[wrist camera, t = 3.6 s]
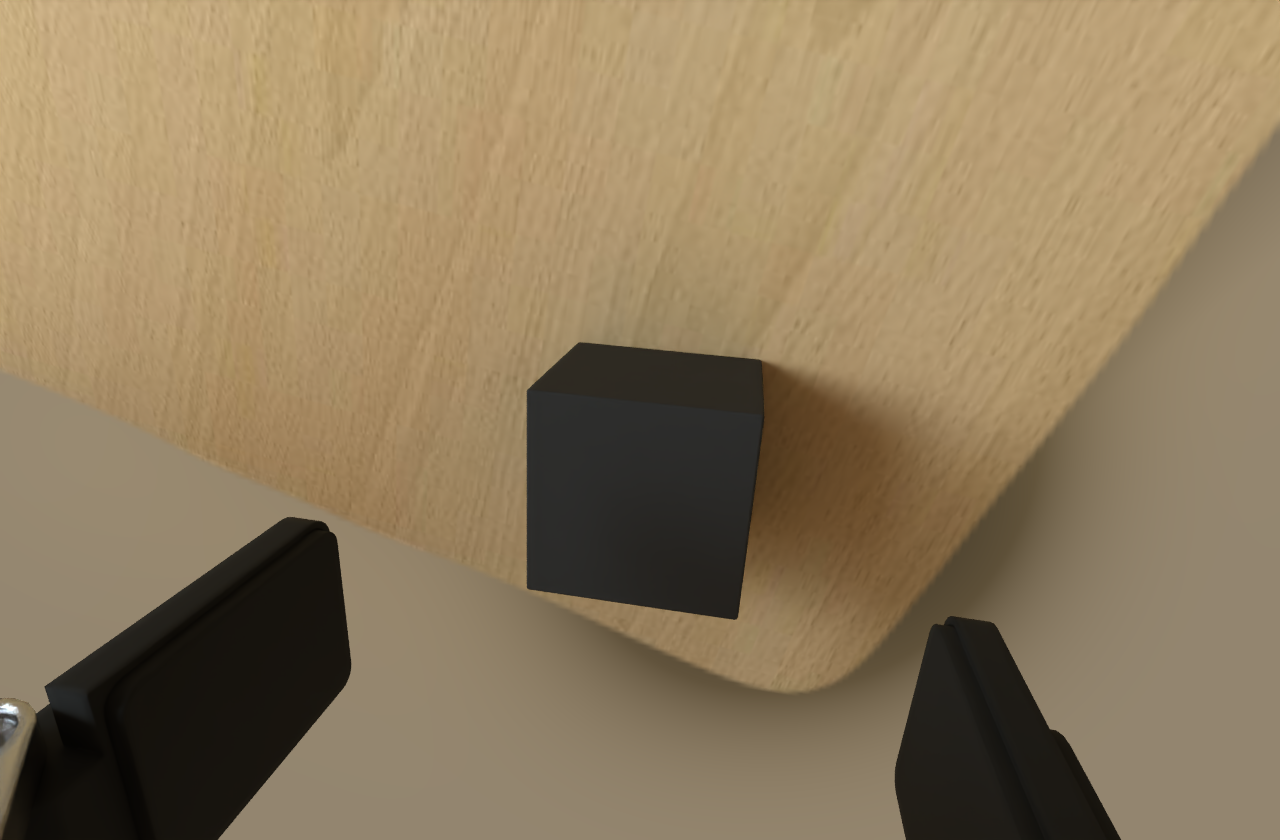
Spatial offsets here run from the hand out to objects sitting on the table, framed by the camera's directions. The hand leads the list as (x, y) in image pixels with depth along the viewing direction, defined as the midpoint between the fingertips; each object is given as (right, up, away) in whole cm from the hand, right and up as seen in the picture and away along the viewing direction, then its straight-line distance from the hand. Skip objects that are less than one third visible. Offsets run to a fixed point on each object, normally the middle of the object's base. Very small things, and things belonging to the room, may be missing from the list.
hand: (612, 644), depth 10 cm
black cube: (+1, +3, +8) cm, 9 cm away
